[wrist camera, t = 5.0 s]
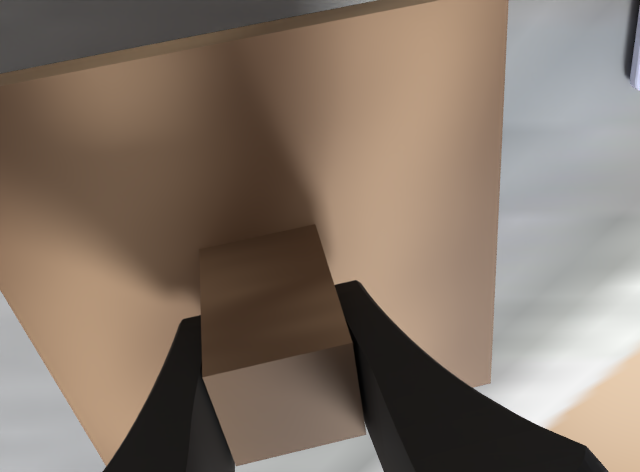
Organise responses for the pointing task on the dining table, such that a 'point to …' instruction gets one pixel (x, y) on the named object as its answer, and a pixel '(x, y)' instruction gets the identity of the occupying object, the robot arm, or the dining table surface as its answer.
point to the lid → (257, 211)
